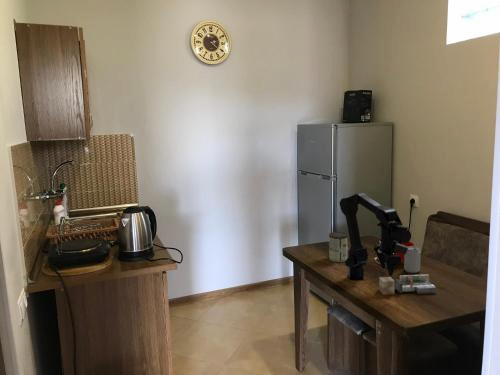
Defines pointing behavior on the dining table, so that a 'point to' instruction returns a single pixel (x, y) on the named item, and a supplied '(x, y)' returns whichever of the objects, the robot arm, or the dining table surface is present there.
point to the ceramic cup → (402, 253)
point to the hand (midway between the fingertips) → (386, 272)
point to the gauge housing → (418, 283)
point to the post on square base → (408, 286)
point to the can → (412, 260)
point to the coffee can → (338, 246)
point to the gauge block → (386, 285)
